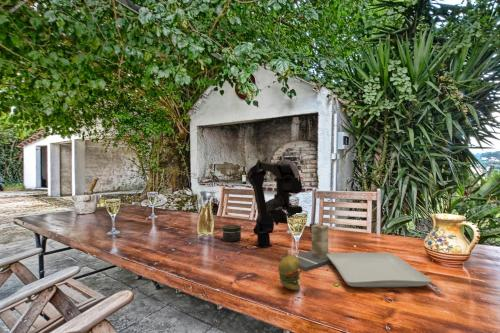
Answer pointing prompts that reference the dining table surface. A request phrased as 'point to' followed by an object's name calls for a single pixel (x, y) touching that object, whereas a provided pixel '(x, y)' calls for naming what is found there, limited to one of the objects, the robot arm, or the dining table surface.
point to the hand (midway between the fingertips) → (283, 226)
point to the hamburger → (289, 272)
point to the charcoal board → (311, 261)
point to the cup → (312, 225)
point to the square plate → (376, 270)
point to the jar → (231, 233)
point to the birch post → (319, 241)
